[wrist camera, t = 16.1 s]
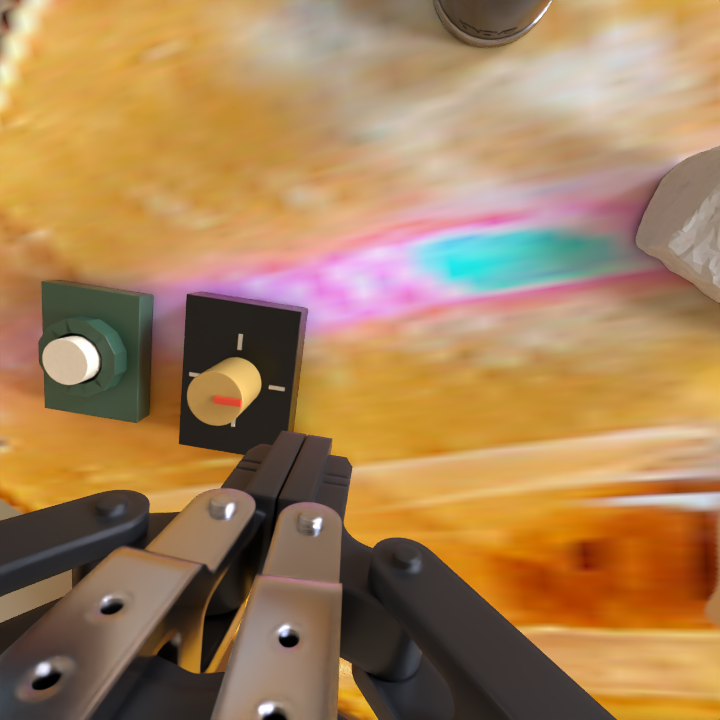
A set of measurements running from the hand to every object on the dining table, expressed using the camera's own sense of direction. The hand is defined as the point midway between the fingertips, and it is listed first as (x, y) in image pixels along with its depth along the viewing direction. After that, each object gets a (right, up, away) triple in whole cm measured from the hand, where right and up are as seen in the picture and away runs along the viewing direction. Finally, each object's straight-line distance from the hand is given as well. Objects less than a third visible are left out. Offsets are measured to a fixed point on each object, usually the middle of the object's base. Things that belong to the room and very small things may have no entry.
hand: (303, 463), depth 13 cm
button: (-23, +3, +25) cm, 34 cm away
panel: (-9, +2, +28) cm, 29 cm away
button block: (-23, +4, +28) cm, 37 cm away
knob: (-9, +1, +25) cm, 27 cm away
